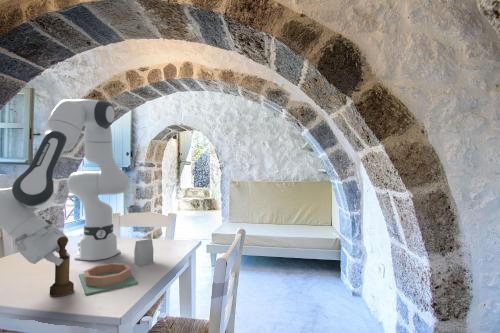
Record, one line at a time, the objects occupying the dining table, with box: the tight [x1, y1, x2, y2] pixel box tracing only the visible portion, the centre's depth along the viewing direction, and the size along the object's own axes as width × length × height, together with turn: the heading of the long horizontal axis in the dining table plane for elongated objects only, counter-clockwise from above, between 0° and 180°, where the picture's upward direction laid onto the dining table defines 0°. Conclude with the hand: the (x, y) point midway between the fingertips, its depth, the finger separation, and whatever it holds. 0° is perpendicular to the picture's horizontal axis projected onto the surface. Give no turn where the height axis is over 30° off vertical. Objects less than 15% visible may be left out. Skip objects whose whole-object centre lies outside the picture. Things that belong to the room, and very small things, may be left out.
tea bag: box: [133, 238, 154, 267], centre depth 122 cm, size 4×7×10 cm, turn 130°
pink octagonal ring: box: [83, 262, 132, 287], centre depth 104 cm, size 14×14×3 cm
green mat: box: [78, 272, 139, 296], centre depth 104 cm, size 20×16×1 cm
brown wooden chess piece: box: [49, 236, 75, 297], centre depth 93 cm, size 7×6×18 cm
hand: (64, 260), depth 94 cm, fingers closed on brown wooden chess piece, 4 cm apart
